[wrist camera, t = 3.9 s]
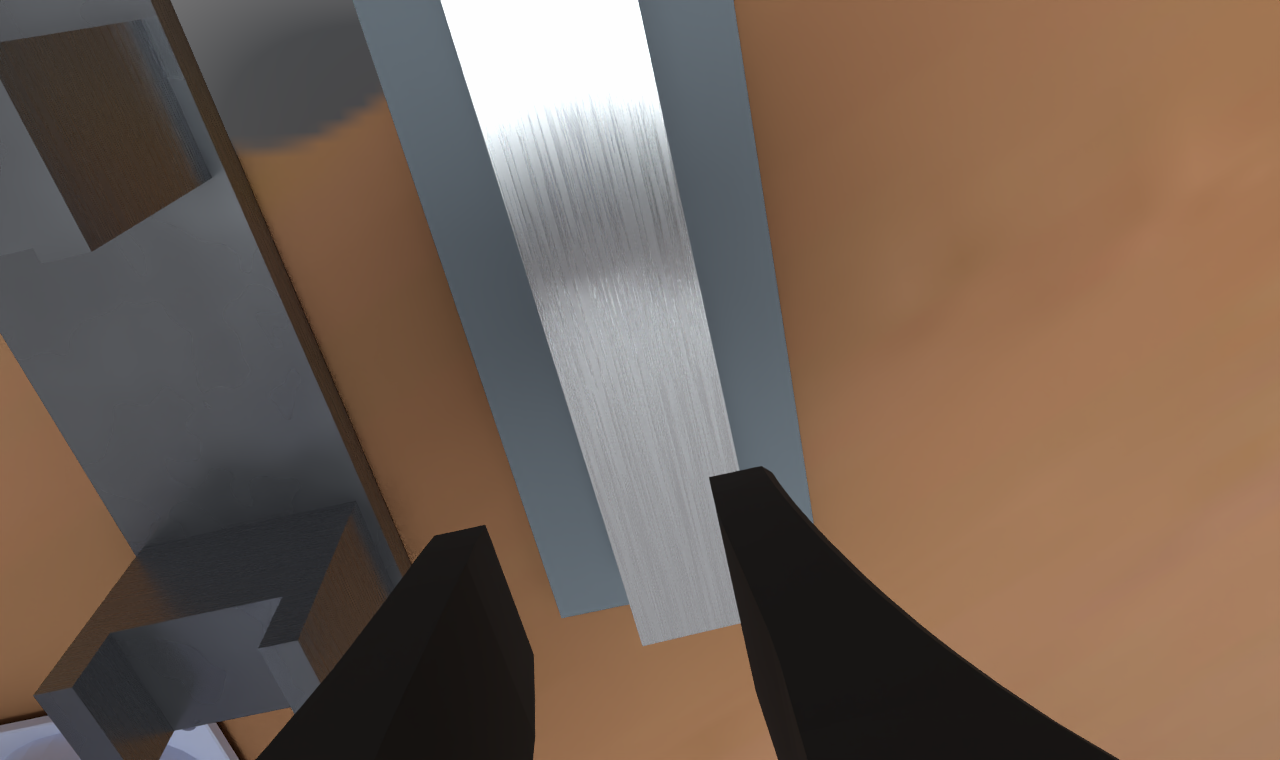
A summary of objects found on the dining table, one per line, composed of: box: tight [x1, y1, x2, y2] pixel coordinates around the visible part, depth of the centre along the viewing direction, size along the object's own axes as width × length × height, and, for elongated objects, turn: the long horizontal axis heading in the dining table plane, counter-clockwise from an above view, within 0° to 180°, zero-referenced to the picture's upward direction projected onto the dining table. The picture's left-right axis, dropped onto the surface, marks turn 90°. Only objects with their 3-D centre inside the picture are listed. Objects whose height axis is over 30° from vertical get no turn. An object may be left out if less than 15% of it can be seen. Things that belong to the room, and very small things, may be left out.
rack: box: [0, 0, 411, 760], centre depth 17 cm, size 16×6×6 cm, turn 12°
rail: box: [441, 0, 741, 646], centre depth 17 cm, size 16×3×3 cm
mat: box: [353, 0, 814, 618], centre depth 19 cm, size 18×7×1 cm, turn 12°
